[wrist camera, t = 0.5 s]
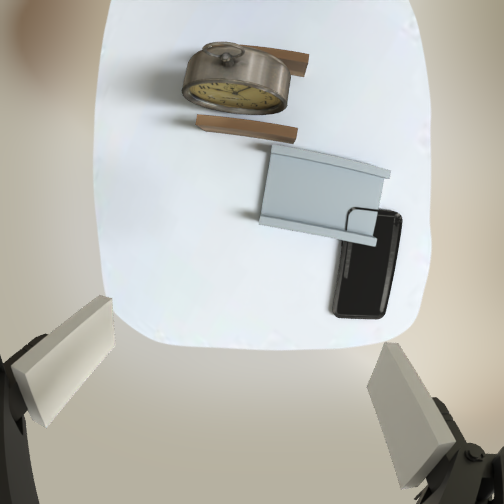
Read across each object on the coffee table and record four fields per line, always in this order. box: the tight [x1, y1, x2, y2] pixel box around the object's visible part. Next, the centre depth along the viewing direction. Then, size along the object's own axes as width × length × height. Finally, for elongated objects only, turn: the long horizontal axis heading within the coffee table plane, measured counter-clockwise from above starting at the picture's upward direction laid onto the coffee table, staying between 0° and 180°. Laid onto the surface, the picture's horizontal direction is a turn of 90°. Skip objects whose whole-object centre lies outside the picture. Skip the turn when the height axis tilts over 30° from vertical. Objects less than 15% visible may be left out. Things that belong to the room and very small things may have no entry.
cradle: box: [259, 144, 391, 247], centre depth 35 cm, size 10×14×2 cm, turn 81°
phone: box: [333, 207, 402, 319], centre depth 37 cm, size 8×1×15 cm
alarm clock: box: [182, 42, 291, 115], centre depth 26 cm, size 11×5×16 cm, turn 81°
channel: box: [195, 45, 309, 144], centre depth 31 cm, size 10×11×5 cm
